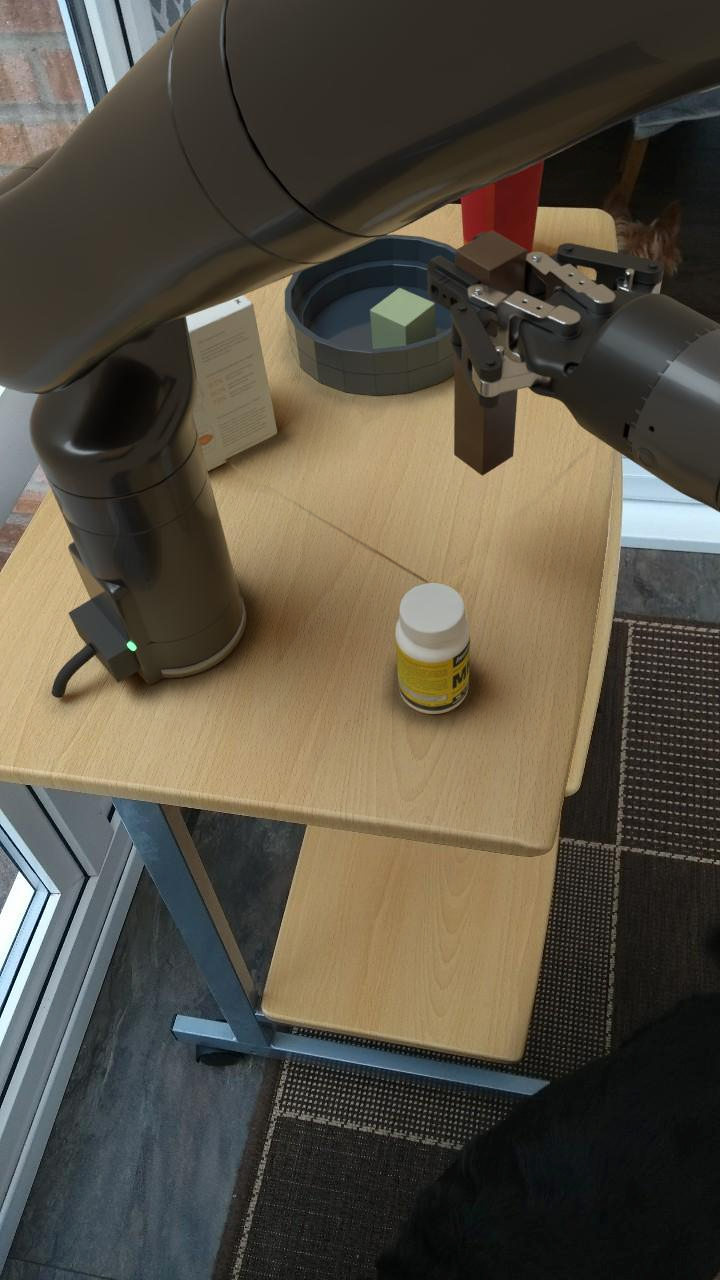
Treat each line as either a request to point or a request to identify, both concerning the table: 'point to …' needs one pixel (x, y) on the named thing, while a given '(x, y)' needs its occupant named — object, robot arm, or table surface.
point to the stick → (502, 267)
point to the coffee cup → (505, 208)
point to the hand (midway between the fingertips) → (454, 261)
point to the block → (402, 320)
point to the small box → (229, 381)
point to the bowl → (367, 318)
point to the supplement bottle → (432, 648)
